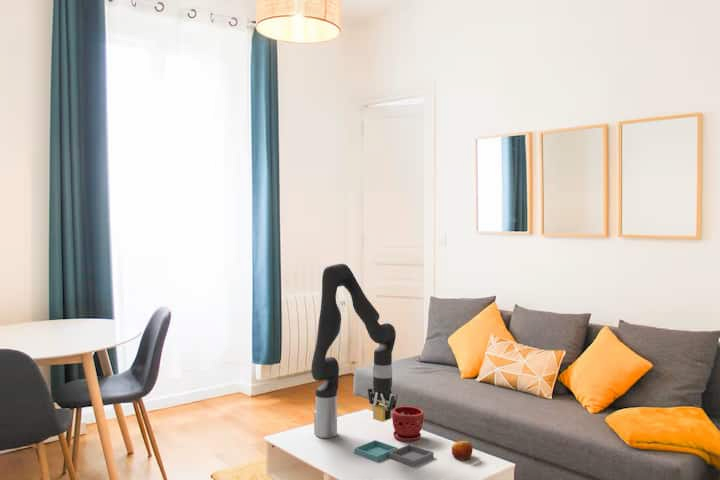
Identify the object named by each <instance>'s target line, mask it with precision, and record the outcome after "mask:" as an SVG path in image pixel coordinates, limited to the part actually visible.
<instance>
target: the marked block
mask: <svg viewBox="0 0 720 480" xmlns="http://www.w3.org/2000/svg"><path fill="white" fill-rule="evenodd" d="M372 406H373V405H372ZM372 419H373V420H375V421H378V422H382V423H383V422H387V421H389V420H392V416H391V417H390V419H388V420H386V419H385V406H384V405H383V402H382V403H381V402H380V404H379V405H376V406H373V407H372Z"/></svg>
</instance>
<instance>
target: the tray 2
mask: <svg viewBox="0 0 720 480" xmlns="http://www.w3.org/2000/svg"><path fill="white" fill-rule="evenodd" d="M434 455H435V454H434V452H433V451H430V450H429V449H424V448H422V447H418V446H416V445H413V444H406V445H404V446H402V447H399V448H398V449H397V450H394V451H392V452H389V457H388V458H389V459H391V460H394V461H397V462H400V463H402V464H405V465H407V466H410V467H413V468H414V467H417V466H418V465H420V464H423V463H425V462H428V461H429V460H431V459H433V458H434V457H435V456H434Z"/></svg>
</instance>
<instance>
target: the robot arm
mask: <svg viewBox="0 0 720 480" xmlns="http://www.w3.org/2000/svg"><path fill="white" fill-rule="evenodd" d="M321 277H322V279H321V300H320V301H321V302H320V313H319V318H318V326H317V327H318V328H317V336H316V343H315V348H314V349H315V350H314V352H313V357H312V361H311V367H310V368H311V375H312V378H313V379H314V380H315V381H317V382H319V381H320V382H321V381H324V382H323V383H322V384H321V385H319V386H317V387H316V388H315V411H314V412H313V418H314V419H313V420H314V421H313V422H314V424H313V429H314V432H313V434H315V436H316V437H318V438H320V439H331V438H335V437H336V436H337V435H338V389H339V375H340V367H339V366H340V365H339V362H338V360H337V359H336V358H335V357H334V356H327V353H328V351H329V349H330V348H331V346H332V344H334V342H335V340H336V339H337V338H338V336H339V334H340V331H341V324H342V314H341V310H340V308H339V306H338V303H337V291H338V287H344V288H345V289H346V290H347V291H348V293H349V295H350V297H351V303H352V307H353V309H354V312H355V313H356V315H357V316H358V317H359V319H360V320H361V322H362V323H363V324H364V326H365V330H366V331H367V334H368V336H369V338H370V339H371V340H372V341H373V342H374V343H376V344H378V345H379V346H377V348H375V349H374V352H373V367H372V387H371V388H368V389H367V393H368V394H367V396H368V400H369V404H370V405H372V406H376V405H379V404H381V402H382V404H383V405H384V406H385V419H386V420H387V421H389V420H391V419H390V417H391V418H392V411H393V409H395V408H396V406H397V405H396V404H397V400H398V395H397V394H394V393H393V392H392V388H393V365H392V362H393V360H392V359H393V350H394V346H395V342H396V337H397V336H396V335H397V333H396V329H395V326H393V324H391V323H389V322H388V323H387V322H386V323H382V324H380V323H379V320H380V313H379V312H378V311H377V309H376V307H375V306H374V305H373V304H372V303H371V301H370V300H369V299H368V297H367V296H366V294H365V293H364V291H363V290H362V288H361V286H360V283H359V282H358V280H357V279H356V277H355V275H354V273H353V272H352V270H351V268H350V267H349V266H348V265H347V264H345V263H337V264H331V265H327V266H326V267H325V268H324V269H323V273H322V276H321ZM388 419H389V420H388Z"/></svg>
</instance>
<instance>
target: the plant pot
mask: <svg viewBox="0 0 720 480" xmlns="http://www.w3.org/2000/svg"><path fill="white" fill-rule="evenodd" d="M401 413H404V414H401ZM391 420H392V426H393V429H394V430H393V433H392V434H393V437H394V438H395V439H396V440H398V441H401V442H416V441H418V440H419V439H420V438H421V436H422V435H421V434H422V433H420V432H421V431H422V428H423V423H424V411H423V410H422V409H421V408H418V407H414V406H397V407H396V406H395V409H392V411H391Z"/></svg>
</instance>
